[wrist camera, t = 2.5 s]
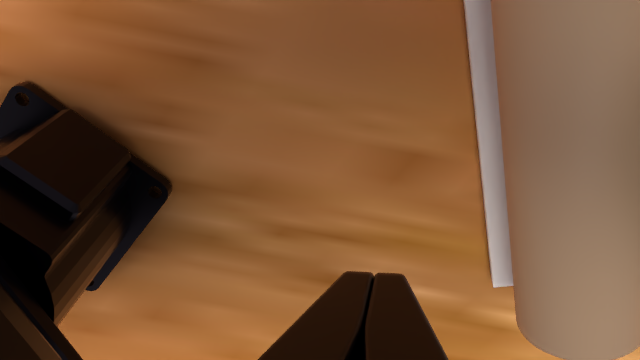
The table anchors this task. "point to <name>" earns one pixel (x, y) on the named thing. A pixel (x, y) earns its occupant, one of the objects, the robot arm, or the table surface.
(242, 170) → the table surface
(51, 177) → the robot arm
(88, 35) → the table surface
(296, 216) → the table surface
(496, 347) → the table surface
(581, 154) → the roller track
